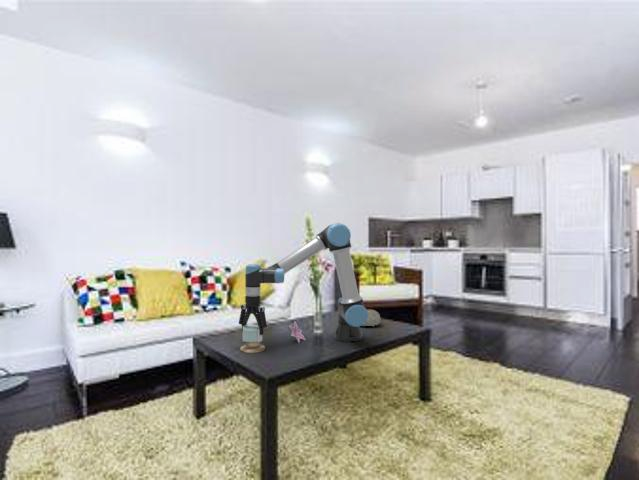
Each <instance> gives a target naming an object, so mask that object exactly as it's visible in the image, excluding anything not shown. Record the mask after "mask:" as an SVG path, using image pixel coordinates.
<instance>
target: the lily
mask: <svg viewBox="0 0 639 480" xmlns="http://www.w3.org/2000/svg"><path fill="white" fill-rule="evenodd" d="M288 326H289V328H290V329H291V333H290V334H291V336H290V337H289V341H290V340H291V338H292V337H295V338H296V341H297V342H298V344H299V343H300V341H301V340H303V341H306V338H305V335H303V334H302V332H303V331H302V329H301V328H299V326H298V323H297V322H296V321H295V320H294V321H293V325H291V324H290V325H289V324H288Z"/></svg>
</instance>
